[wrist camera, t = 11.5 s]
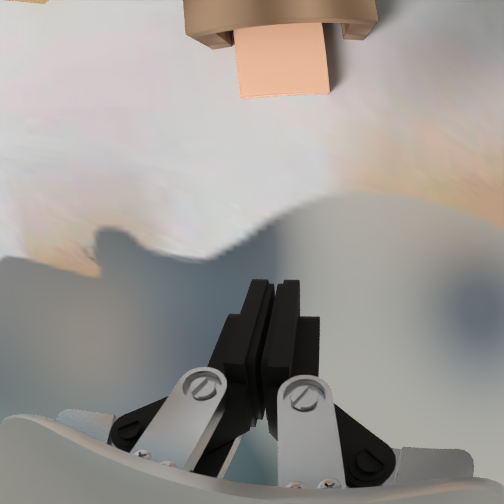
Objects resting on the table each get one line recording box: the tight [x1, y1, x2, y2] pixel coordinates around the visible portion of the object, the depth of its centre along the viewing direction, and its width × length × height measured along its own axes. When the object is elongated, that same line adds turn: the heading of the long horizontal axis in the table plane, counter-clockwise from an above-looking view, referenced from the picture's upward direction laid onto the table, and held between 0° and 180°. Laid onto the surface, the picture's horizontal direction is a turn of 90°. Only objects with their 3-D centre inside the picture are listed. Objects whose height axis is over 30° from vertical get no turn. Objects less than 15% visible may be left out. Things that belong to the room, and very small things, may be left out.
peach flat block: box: [233, 23, 330, 99], centre depth 21 cm, size 8×12×3 cm, turn 5°
